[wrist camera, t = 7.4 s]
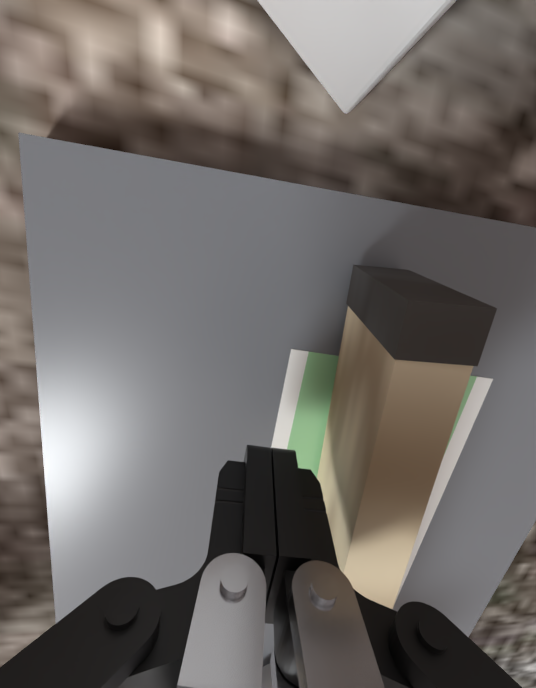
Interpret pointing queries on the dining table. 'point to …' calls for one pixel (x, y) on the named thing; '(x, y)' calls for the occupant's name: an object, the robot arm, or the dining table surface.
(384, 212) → the dial plate
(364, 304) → the dial lever
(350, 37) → the milk carton
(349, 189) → the dining table surface
